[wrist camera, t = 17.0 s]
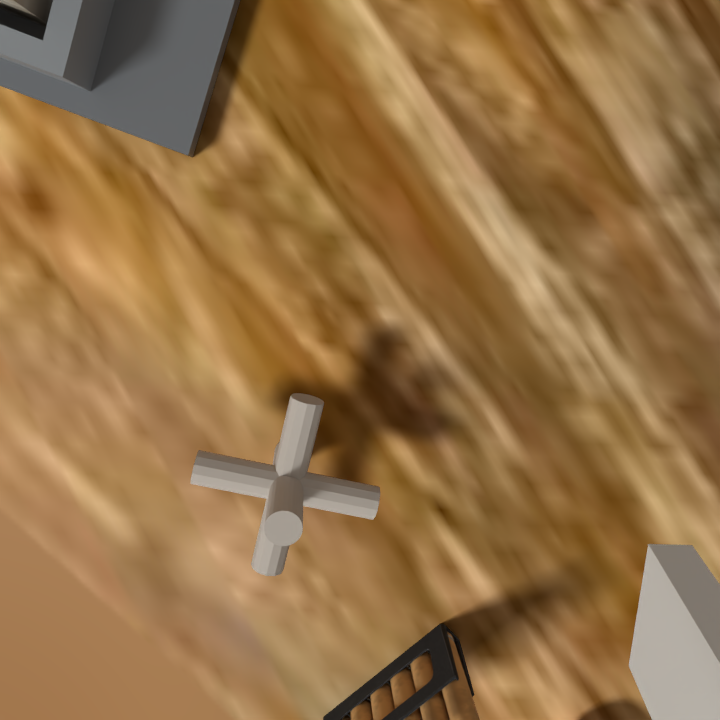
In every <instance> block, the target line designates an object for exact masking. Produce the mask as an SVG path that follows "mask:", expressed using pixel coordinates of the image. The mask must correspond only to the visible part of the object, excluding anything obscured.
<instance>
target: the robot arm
mask: <svg viewBox="0 0 720 720" xmlns="http://www.w3.org/2000/svg"><path fill="white" fill-rule="evenodd" d="M629 667H630V670H631V672H632V674H633V677H634V679H635V681H636V684H637V686H638V688H639V691H640V693H641V695H642V698H643V700H644V702H645V705H646V707H647V709H648V712H649V714H650V716H651V719H652V720H720V584H719V583H718V582H717V580H716V579H715V577H714V576H713V574H712V573H711V572H710V570H709V569H708V567H707V566H706V564H705V563H704V562H703V560H702V559H701V557H700V556H699V554H698V553H697V552H696V550H695V549H694V547H693V546H692V545H662V544H648V550H647V556H646V562H645V568H644V574H643V580H642V587H641V593H640V599H639V605H638V611H637V618H636V624H635V630H634V636H633V642H632V649H631V655H630V661H629Z"/></svg>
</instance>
